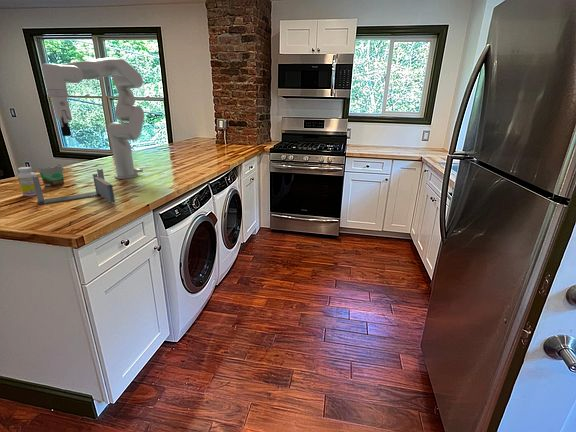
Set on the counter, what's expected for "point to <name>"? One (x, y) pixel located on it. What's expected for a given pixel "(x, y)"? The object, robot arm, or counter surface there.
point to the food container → (52, 176)
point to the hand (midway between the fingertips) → (66, 135)
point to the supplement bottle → (26, 181)
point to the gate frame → (60, 199)
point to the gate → (104, 188)
